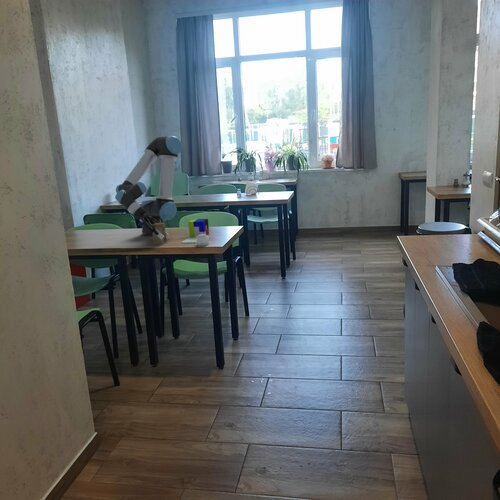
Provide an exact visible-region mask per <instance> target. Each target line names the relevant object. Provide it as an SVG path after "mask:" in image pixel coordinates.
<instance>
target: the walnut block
mask: <svg viewBox="0 0 500 500" xmlns="http://www.w3.org/2000/svg"><path fill="white" fill-rule="evenodd" d="M152 226H153V227H154V228H155V230H156V229H157V230H158V231H159V232H160V233H161V234H162V235H164V237H163V238H162V240H161V239H160V238H159V237H158V236H157V235H156V234H155V233H154V232H153V233H152V235H151V236H152V241H153V242H152V244H153V245H164V244H166V243H167V237H166V232H167V231H166V225H165V222H161V223H154V224H152ZM165 231H166V232H165Z"/></svg>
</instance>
